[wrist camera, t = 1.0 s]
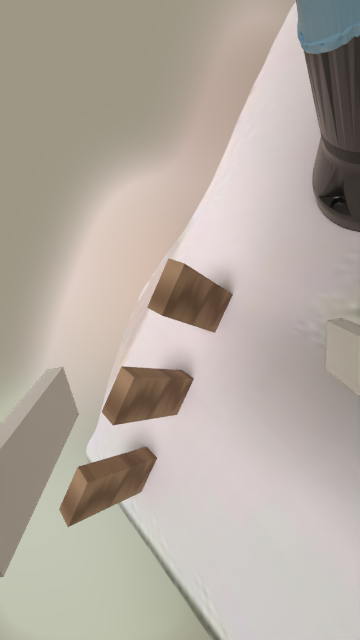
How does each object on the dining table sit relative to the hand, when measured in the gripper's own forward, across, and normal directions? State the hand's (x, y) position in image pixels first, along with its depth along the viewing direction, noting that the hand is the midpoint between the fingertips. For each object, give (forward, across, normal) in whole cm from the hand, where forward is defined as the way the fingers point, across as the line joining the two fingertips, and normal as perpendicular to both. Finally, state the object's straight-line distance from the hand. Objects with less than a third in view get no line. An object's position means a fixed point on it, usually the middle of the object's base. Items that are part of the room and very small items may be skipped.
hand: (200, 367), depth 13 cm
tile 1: (+24, +6, -5) cm, 25 cm away
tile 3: (+20, -9, -27) cm, 35 cm away
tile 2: (+22, -2, -16) cm, 27 cm away
